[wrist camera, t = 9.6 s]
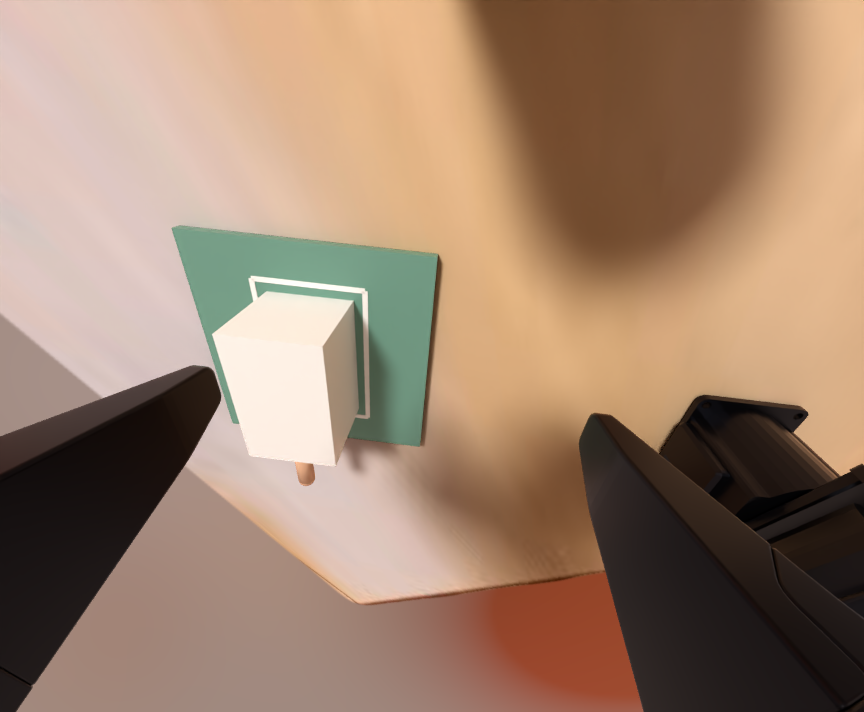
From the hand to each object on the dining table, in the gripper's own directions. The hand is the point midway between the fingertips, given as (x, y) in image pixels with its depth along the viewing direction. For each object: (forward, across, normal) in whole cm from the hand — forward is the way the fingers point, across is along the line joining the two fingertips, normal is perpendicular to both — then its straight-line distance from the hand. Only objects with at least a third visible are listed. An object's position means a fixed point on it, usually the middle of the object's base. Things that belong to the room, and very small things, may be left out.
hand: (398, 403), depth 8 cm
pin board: (+12, +7, +7) cm, 15 cm away
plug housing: (+11, +7, +9) cm, 16 cm away
